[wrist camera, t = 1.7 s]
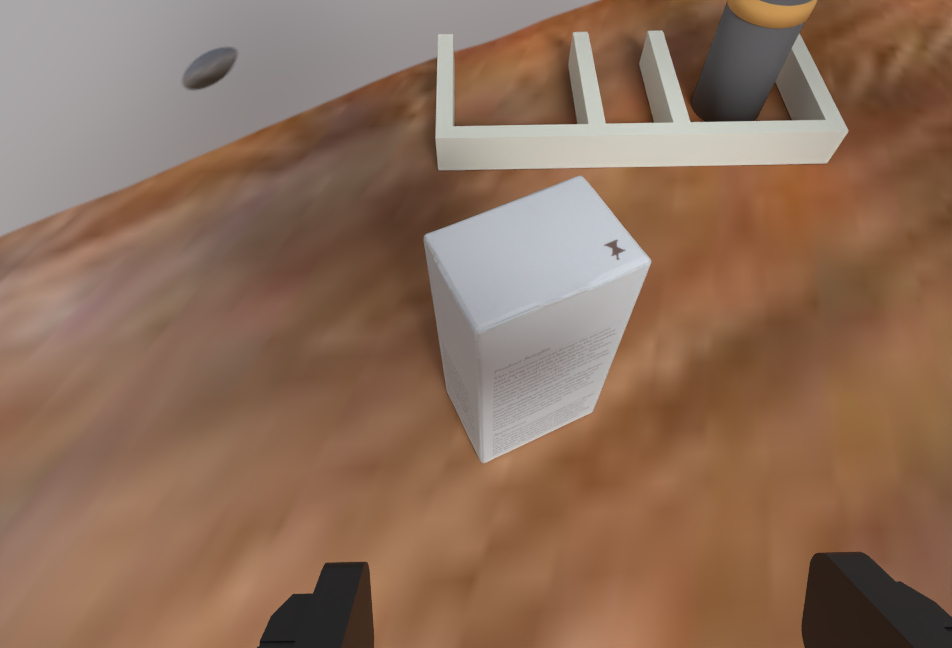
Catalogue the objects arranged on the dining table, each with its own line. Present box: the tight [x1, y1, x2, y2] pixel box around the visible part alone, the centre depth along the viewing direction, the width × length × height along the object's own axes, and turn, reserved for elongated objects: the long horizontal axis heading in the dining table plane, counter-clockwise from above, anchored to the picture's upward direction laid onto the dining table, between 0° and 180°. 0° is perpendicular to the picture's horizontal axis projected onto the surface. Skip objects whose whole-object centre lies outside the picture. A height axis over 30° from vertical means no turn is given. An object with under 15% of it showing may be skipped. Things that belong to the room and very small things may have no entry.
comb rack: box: [435, 31, 849, 170], centre depth 38 cm, size 24×10×2 cm, turn 91°
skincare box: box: [424, 176, 651, 463], centre depth 23 cm, size 6×4×12 cm
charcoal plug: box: [691, 0, 817, 122], centre depth 35 cm, size 5×5×10 cm
